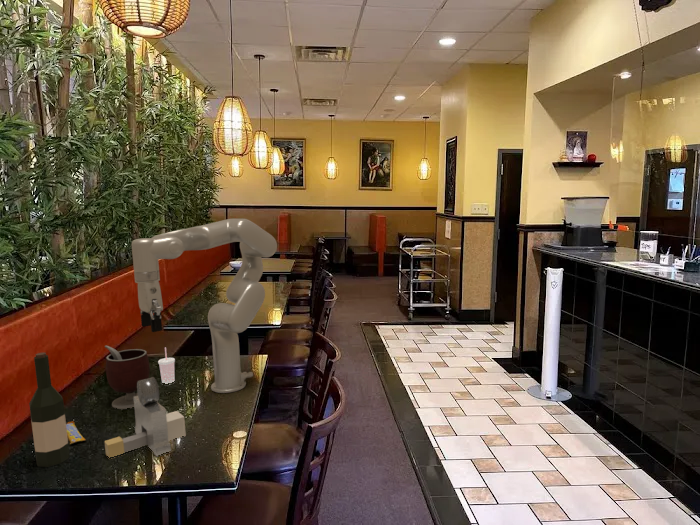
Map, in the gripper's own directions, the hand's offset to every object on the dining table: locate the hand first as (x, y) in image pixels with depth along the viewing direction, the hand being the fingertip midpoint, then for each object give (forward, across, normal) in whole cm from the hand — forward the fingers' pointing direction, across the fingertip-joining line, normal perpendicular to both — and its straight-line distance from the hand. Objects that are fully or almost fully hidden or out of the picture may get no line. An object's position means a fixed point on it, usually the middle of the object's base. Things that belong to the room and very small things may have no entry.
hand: (151, 328), depth 167 cm
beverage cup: (+28, +25, -12) cm, 40 cm away
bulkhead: (+28, -21, +9) cm, 36 cm away
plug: (+28, -21, +11) cm, 37 cm away
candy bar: (+29, +1, +26) cm, 39 cm away
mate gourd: (+28, +16, +5) cm, 33 cm away
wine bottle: (+28, -12, +33) cm, 45 cm away
